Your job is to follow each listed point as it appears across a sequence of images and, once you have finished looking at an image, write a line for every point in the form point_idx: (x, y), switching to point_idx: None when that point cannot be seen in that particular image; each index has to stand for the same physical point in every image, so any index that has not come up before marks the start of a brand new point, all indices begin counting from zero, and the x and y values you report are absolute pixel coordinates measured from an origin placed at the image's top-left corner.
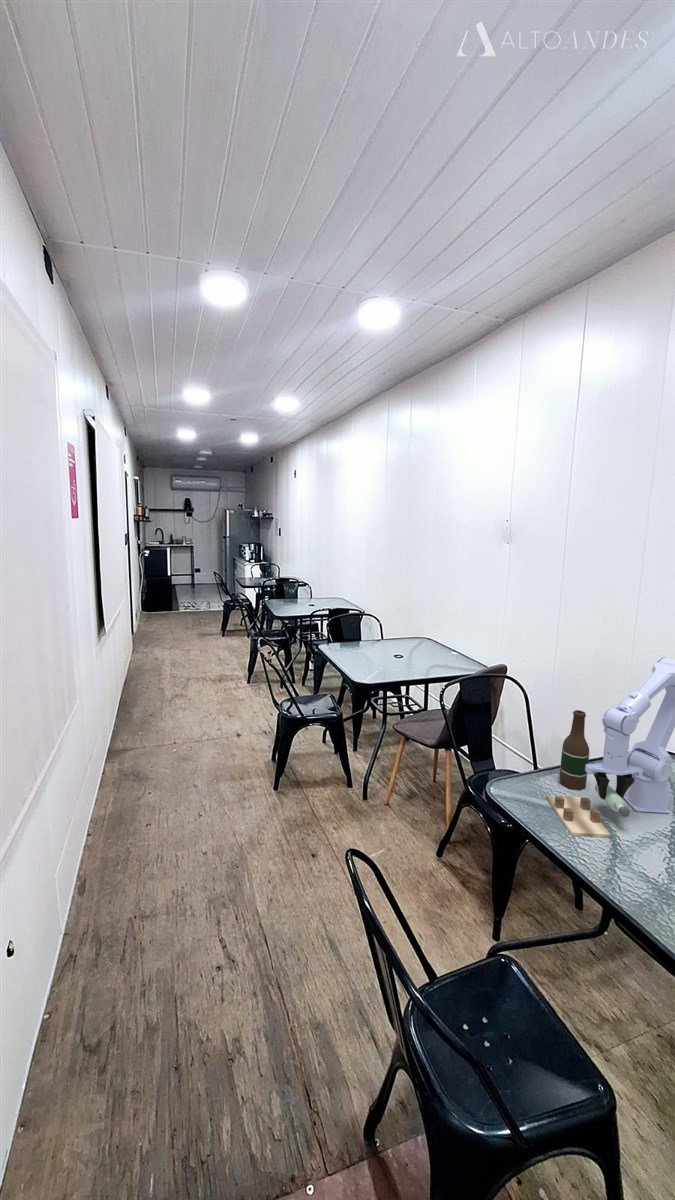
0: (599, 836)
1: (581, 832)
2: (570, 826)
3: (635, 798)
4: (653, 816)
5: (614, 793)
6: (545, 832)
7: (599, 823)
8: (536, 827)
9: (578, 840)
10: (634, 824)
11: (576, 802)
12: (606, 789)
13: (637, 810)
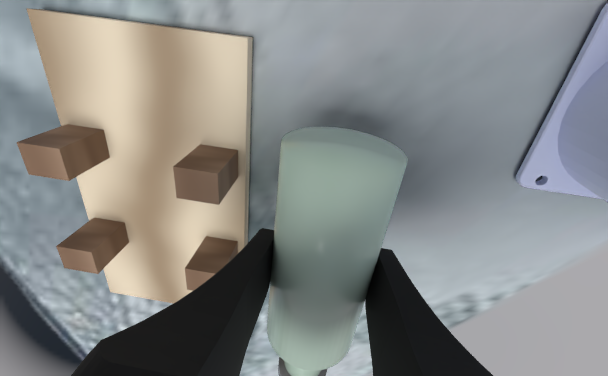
0: None
1: (143, 294)
2: (112, 267)
3: (592, 164)
4: (568, 219)
5: (311, 334)
6: (34, 262)
7: None
8: (4, 238)
9: (133, 302)
10: (400, 259)
11: (197, 102)
12: (244, 349)
13: (522, 185)
